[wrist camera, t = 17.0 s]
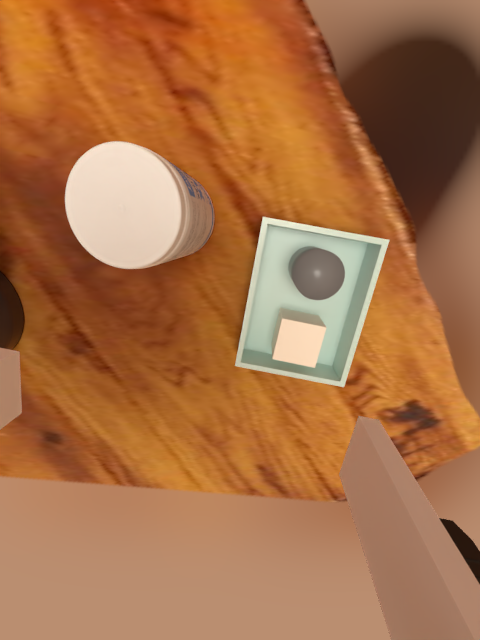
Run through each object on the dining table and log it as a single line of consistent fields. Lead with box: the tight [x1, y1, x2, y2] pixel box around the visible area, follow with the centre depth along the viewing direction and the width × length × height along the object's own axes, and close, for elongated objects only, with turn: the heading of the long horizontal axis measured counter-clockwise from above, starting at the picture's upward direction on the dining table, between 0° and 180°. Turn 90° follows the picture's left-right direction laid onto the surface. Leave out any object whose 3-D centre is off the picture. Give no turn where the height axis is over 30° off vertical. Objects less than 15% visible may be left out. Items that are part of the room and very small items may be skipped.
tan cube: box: [271, 308, 327, 368], centre depth 37 cm, size 5×5×5 cm
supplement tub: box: [65, 141, 214, 269], centre depth 30 cm, size 10×10×15 cm
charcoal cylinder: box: [288, 246, 345, 300], centre depth 34 cm, size 5×5×7 cm
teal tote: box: [235, 217, 389, 387], centre depth 37 cm, size 13×17×5 cm
